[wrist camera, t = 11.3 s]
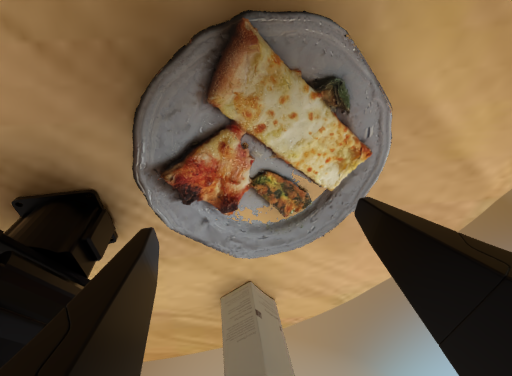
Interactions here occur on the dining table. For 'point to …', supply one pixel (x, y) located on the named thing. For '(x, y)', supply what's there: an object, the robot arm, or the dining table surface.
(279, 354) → the skincare box
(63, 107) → the dining table surface
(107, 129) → the dining table surface
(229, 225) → the food plate
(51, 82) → the dining table surface
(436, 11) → the dining table surface
